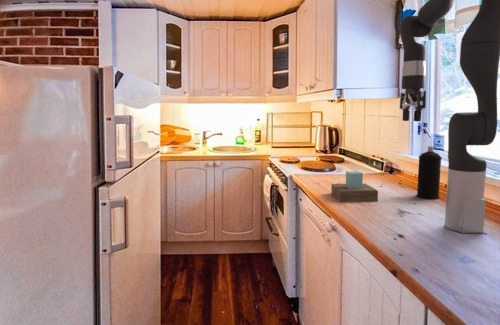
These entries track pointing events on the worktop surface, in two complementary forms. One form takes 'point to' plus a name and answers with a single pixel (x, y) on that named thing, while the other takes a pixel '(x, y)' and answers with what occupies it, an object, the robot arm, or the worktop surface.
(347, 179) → the teal block
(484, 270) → the worktop surface
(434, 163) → the aerosol can
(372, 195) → the stacking base
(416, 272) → the worktop surface
